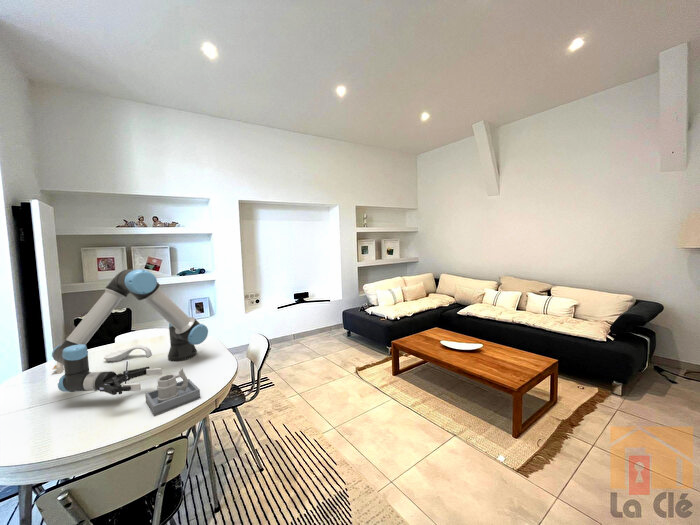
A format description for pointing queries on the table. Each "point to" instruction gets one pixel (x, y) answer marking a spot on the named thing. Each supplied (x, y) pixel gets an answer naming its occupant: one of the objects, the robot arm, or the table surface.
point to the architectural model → (59, 368)
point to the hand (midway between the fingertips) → (151, 378)
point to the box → (183, 398)
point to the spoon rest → (125, 353)
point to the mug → (170, 386)
